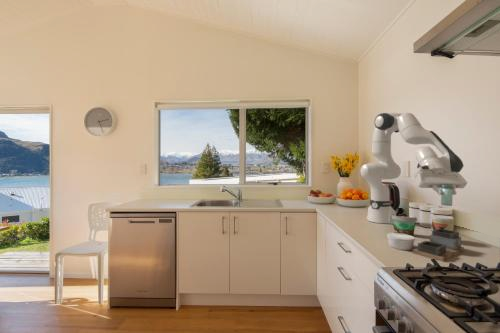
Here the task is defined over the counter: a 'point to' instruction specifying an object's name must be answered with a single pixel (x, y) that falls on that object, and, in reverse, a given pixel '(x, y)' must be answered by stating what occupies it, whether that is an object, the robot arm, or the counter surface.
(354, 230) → the counter surface
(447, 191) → the teal cylinder
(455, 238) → the dock station
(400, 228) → the food container
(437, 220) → the coffee cup
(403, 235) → the ramekin
